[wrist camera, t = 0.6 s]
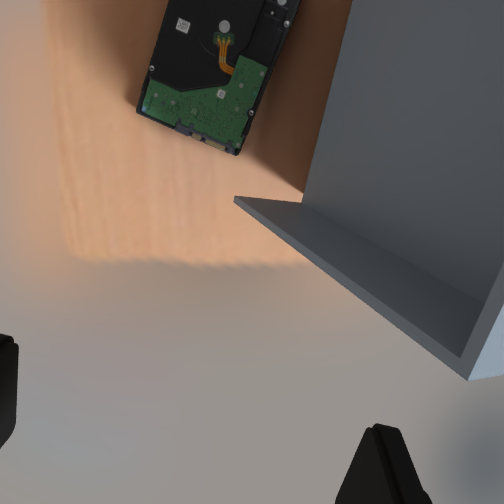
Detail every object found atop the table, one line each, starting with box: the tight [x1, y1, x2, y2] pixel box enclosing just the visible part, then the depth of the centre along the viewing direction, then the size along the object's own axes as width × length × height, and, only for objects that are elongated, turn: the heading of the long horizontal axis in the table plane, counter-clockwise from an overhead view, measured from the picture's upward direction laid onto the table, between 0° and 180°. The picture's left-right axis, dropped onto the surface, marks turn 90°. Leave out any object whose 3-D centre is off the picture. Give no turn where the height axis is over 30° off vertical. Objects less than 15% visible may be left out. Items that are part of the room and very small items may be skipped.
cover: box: [233, 0, 504, 381], centre depth 19 cm, size 21×20×7 cm
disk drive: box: [136, 0, 301, 156], centre depth 35 cm, size 10×3×15 cm
